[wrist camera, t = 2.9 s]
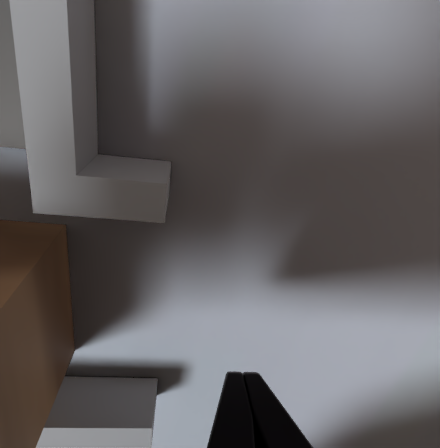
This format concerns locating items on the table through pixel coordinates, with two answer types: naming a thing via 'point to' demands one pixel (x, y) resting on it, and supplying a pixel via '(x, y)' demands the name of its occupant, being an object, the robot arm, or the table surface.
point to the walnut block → (32, 327)
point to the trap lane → (75, 189)
